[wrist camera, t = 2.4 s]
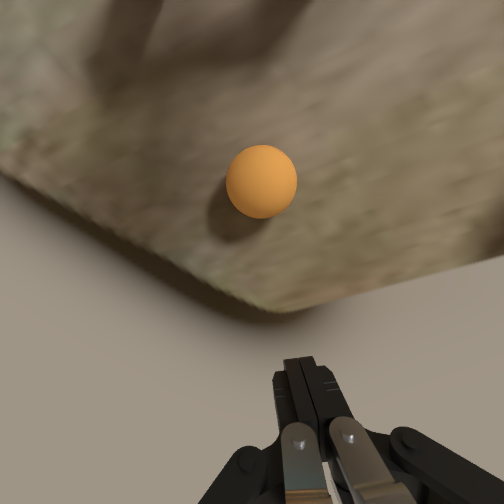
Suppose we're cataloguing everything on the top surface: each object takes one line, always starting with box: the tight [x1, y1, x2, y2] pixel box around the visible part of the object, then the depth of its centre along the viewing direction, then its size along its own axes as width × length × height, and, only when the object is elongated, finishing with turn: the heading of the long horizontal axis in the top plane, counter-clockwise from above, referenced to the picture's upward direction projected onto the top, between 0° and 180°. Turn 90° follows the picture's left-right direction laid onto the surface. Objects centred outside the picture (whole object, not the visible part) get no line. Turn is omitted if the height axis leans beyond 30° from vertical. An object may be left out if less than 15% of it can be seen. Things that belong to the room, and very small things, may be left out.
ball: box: [226, 145, 297, 219], centre depth 22 cm, size 6×6×6 cm
